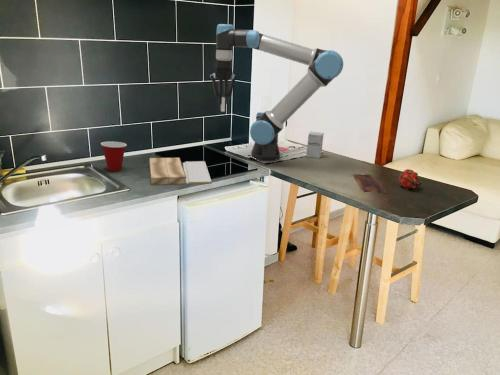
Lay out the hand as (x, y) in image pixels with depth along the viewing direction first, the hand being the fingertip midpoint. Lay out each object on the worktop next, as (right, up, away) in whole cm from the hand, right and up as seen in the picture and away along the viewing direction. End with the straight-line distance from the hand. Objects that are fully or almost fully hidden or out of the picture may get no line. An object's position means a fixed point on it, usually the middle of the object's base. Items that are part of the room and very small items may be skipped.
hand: (222, 111), depth 205 cm
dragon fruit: (+82, -37, -20) cm, 92 cm away
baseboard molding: (-12, -31, -14) cm, 36 cm away
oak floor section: (-24, -31, -17) cm, 42 cm away
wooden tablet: (+65, -36, -16) cm, 76 cm away
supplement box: (+47, -20, +24) cm, 57 cm away
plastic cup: (-47, -29, -15) cm, 57 cm away
